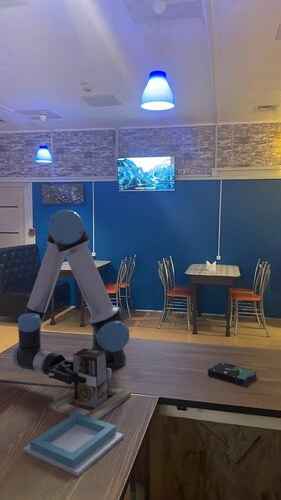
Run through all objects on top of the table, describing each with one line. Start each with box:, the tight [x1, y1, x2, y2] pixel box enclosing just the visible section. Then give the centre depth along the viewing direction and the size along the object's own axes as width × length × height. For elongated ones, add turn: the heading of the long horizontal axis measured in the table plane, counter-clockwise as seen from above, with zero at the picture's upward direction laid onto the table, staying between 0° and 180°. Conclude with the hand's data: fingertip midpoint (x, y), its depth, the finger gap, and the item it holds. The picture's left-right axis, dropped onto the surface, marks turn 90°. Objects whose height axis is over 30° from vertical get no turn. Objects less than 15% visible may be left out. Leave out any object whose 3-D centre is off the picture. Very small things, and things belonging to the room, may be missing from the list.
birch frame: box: [48, 385, 132, 420], centre depth 119 cm, size 17×20×2 cm
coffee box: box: [72, 348, 109, 409], centre depth 118 cm, size 9×6×16 cm
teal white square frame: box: [22, 412, 124, 477], centre depth 96 cm, size 18×18×3 cm
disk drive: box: [207, 361, 257, 387], centre depth 139 cm, size 10×3×15 cm
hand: (103, 377), depth 116 cm, fingers closed on coffee box, 7 cm apart
